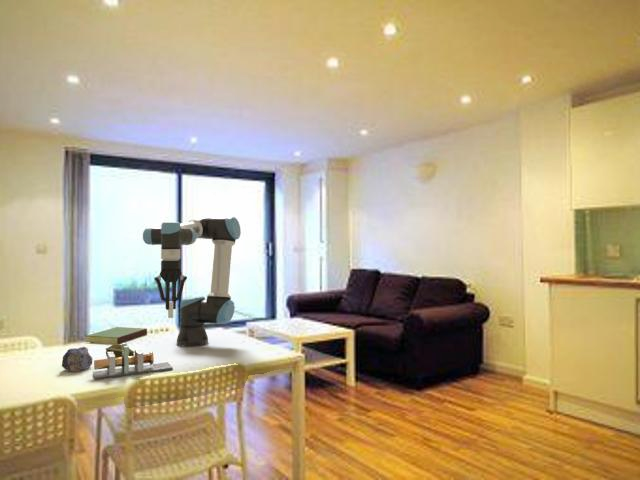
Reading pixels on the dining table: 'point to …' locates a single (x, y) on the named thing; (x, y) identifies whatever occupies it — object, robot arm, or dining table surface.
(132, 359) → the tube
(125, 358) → the collar rail
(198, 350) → the dining table surface
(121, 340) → the hardcover book
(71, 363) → the rock
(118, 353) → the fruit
